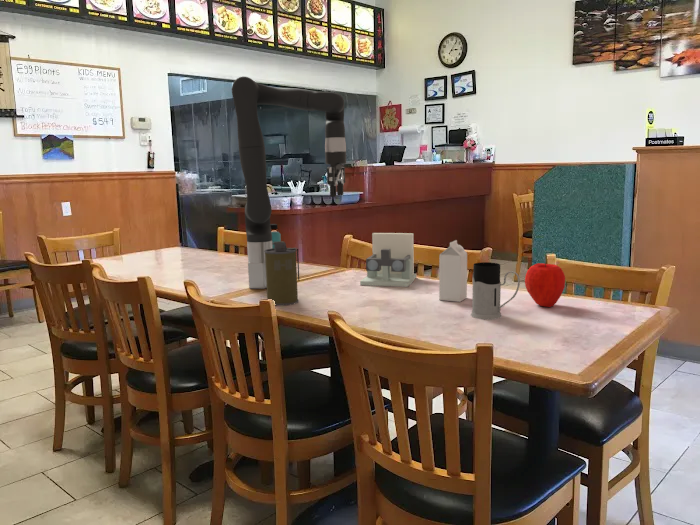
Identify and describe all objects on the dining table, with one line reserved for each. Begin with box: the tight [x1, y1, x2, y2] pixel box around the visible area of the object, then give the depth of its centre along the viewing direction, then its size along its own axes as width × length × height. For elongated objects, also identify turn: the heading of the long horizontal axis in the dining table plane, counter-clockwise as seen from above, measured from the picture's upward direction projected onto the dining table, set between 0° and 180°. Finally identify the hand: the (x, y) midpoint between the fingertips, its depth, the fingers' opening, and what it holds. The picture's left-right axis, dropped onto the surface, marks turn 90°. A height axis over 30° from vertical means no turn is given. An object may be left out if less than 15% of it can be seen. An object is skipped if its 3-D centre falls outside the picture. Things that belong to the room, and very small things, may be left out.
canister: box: [264, 240, 300, 307], centre depth 187 cm, size 11×10×20 cm
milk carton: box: [438, 239, 468, 303], centre depth 185 cm, size 7×7×19 cm
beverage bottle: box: [270, 223, 282, 248], centre depth 248 cm, size 6×7×20 cm
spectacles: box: [365, 249, 410, 272], centre depth 216 cm, size 12×14×8 cm
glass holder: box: [470, 261, 521, 320], centre depth 162 cm, size 9×14×15 cm, turn 51°
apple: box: [524, 262, 566, 308], centre depth 174 cm, size 12×12×13 cm
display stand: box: [359, 232, 417, 288], centre depth 216 cm, size 18×18×18 cm
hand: (336, 196), depth 208 cm, fingers open, 8 cm apart
